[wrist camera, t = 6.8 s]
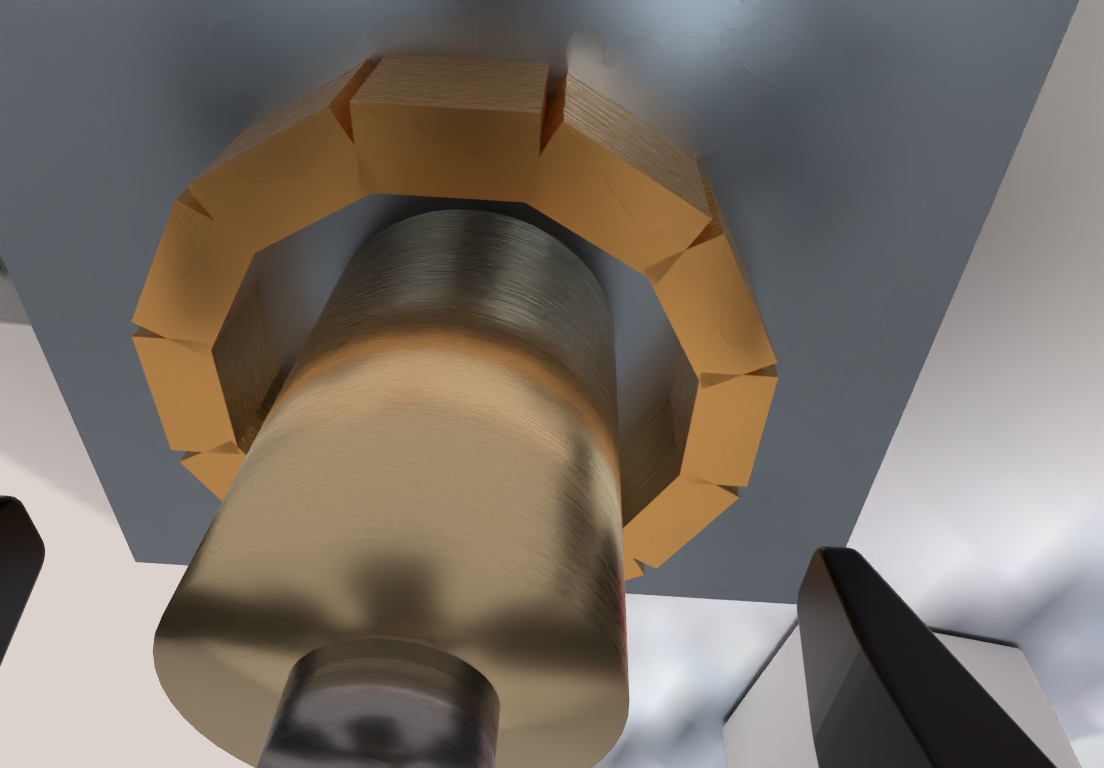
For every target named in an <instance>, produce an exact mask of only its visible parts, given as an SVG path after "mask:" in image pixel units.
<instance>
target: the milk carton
mask: <svg viewBox="0 0 1104 768" xmlns="http://www.w3.org/2000/svg"><path fill="white" fill-rule="evenodd" d="M933 633H934V632H933ZM934 634H935V635H936V636H937V637H938V639H939V640H940V641H941V642H942V643H943V644H944V645H945V646H946V647H947V648H948V649H949V651H950V652H951V653H952V654H953V655H954V656H955V657H956V658H957V659H958V660H959V661H960V662H961V664H962V665H963V666H964V667H965V668H966V669H967V670H968V671H969V672H970V673H971V674H972V675H973V677H974V678H975V679H976V680H977V681H978V682H979V683H980V684H981V685H982V686H983V687H984V689H985V690H986V691H987V692H988V693H989V694H990V695H991V696H992V697H993V698H994V699H995V700H996V702H997V703H998V704H999V705H1000V706H1001V707H1002V708H1003V709H1004V710H1005V711H1006V712H1007V713H1008V715H1009V716H1010V717H1011V718H1012V719H1013V720H1014V721H1015V722H1016V723H1017V724H1018V725H1019V726H1020V728H1021V729H1022V730H1023V731H1024V732H1025V733H1026V734H1027V735H1028V736H1029V737H1030V738H1031V740H1032V741H1033V742H1034V743H1035V744H1036V745H1037V746H1038V747H1039V748H1040V749H1041V750H1042V751H1043V753H1044V754H1045V755H1046V756H1047V757H1048V758H1049V759H1050V760H1051V761H1052V762H1053V763H1054V764H1055V766H1056V767H1057V768H1082V767H1081V765H1080V763H1079V761H1078V759H1077V757H1076V755H1075V753H1074V751H1073V749H1072V747H1071V745H1070V743H1069V741H1068V739H1067V737H1066V735H1065V733H1064V731H1063V729H1062V727H1061V725H1060V723H1059V721H1058V719H1057V717H1056V715H1055V713H1054V711H1053V709H1052V707H1051V705H1050V703H1049V701H1048V699H1047V697H1046V695H1045V693H1044V691H1043V689H1042V687H1041V685H1040V683H1039V681H1038V679H1037V677H1036V675H1035V673H1034V671H1033V669H1032V668H1031V666H1030V664H1029V662H1028V660H1027V658H1026V656H1025V654H1024V653H1023V652H1022V651H1021V650H1020V649H1017V648H1013V647H1008V646H1003V645H998V644H993V643H987V642H982V641H977V640H971V639H966V638H961V637H955V636H950V635H944V634H939V633H934ZM722 732H723V742H724V749H725V756H726V763H727V768H819V766H818V762H817V757H816V752H815V747H814V742H813V736H812V729H811V722H810V714H809V705H808V697H807V689H806V680H805V672H804V664H803V655H802V647H801V638H800V630H799V624H798V625H797V627H796V628H795V629H794V631H793V632H792V633H791V635H790V636H789V637H788V639H787V640H786V642H785V643H784V644H783V646H782V647H781V648H780V650H779V651H778V652H777V654H776V655H775V657H774V658H773V659H772V661H771V662H770V663H769V665H768V666H767V667H766V669H765V670H764V672H763V673H762V674H761V676H760V677H759V678H758V680H757V681H756V682H755V684H754V685H753V687H752V688H751V689H750V691H749V692H748V693H747V695H746V696H745V698H744V699H743V700H742V702H741V703H740V704H739V706H738V707H737V708H736V710H735V711H734V713H733V714H732V715H731V717H730V718H729V720H728V721H727V722H726V724H725V725H724V727H723V729H722Z"/></svg>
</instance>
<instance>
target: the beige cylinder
mask: <svg viewBox="0 0 1104 768" xmlns="http://www.w3.org/2000/svg"><path fill="white" fill-rule="evenodd" d="M153 656H154V664H155V669H156V673H157V675H158V678H159V681H160V683H161V686H162V688H163V689H164V691H165V693H166V695H167V696H168V698H169V699H170V701H171V703H172V704H173V705H174V706H175V708H176V709H177V710H178V711H179V712H180V714H181V715H182V716H183V717H184V718H185V719H186V720H187V721H188V722H189V723H190V724H191V725H192V726H193V727H194V728H195V729H196V730H197V731H199V732H200V733H201V734H202V735H204V736H205V737H206V738H207V739H209V740H210V741H211V742H213V743H214V744H215V745H217V746H218V747H220V748H221V749H223V750H225V751H226V752H228V753H230V754H231V755H233V756H234V757H236V758H238V759H239V760H241V761H243V762H246V763H247V764H249V765H251V766H253V767H255V768H592V767H593V766H594V765H596V764H597V763H598V762H599V761H601V760H602V759H603V758H604V757H605V756H606V755H607V754H608V752H609V751H610V750H611V749H612V748H613V747H614V746H615V744H616V742H617V741H618V739H619V737H620V736H621V734H622V732H623V730H624V727H625V724H626V721H627V718H628V709H629V681H628V656H627V631H626V606H625V581H624V555H623V530H622V505H621V480H620V455H619V429H618V404H617V379H616V354H615V333H614V324H613V317H612V314H611V310H610V307H609V303H608V301H607V299H606V296H605V294H604V292H603V290H602V287H601V286H600V284H599V283H598V281H597V280H596V278H595V276H594V275H593V273H592V272H591V271H590V270H589V268H588V267H587V266H586V265H585V264H584V262H583V261H582V260H581V259H580V258H579V257H578V256H577V255H576V254H575V253H574V252H572V251H571V250H570V249H569V248H568V247H567V246H566V245H564V244H563V243H562V242H560V241H559V240H557V239H556V238H554V237H553V236H551V235H550V234H548V233H546V232H544V231H543V230H541V229H539V228H537V227H535V226H533V225H531V224H528V223H526V222H523V221H520V220H518V219H515V218H513V217H509V216H505V215H501V214H497V213H493V212H486V211H478V210H443V211H435V212H429V213H425V214H421V215H417V216H413V217H410V218H407V219H405V220H402V221H400V222H398V223H395V224H393V225H391V226H389V227H388V228H386V229H384V230H383V231H381V232H379V233H377V234H376V235H375V236H374V237H372V238H371V239H370V240H369V241H367V242H366V243H365V244H364V245H363V246H362V247H361V248H360V249H359V250H358V251H357V252H356V253H355V254H354V256H353V257H352V258H351V260H350V261H349V263H348V264H347V266H346V267H345V269H344V270H343V272H342V274H341V276H340V278H339V280H338V282H337V284H336V285H335V287H334V289H333V291H332V293H331V295H330V297H329V299H328V301H327V303H326V304H325V306H324V308H323V310H322V312H321V314H320V316H319V318H318V320H317V322H316V324H315V325H314V327H313V329H312V331H311V333H310V335H309V337H308V339H307V341H306V343H305V345H304V346H303V348H302V350H301V352H300V354H299V356H298V358H297V360H296V362H295V364H294V366H293V367H292V369H291V371H290V373H289V375H288V377H287V379H286V381H285V383H284V385H283V387H282V388H281V390H280V392H279V394H278V396H277V398H276V400H275V402H274V404H273V406H272V408H271V409H270V411H269V413H268V415H267V417H266V419H265V421H264V423H263V425H262V427H261V429H260V430H259V432H258V434H257V436H256V438H255V440H254V442H253V444H252V446H251V448H250V449H249V451H248V453H247V455H246V457H245V459H244V461H243V463H242V465H241V467H240V469H239V470H238V472H237V474H236V476H235V478H234V480H233V482H232V484H231V486H230V488H229V490H228V491H227V493H226V495H225V497H224V499H223V501H222V503H221V505H220V507H219V509H218V511H217V512H216V514H215V516H214V518H213V520H212V522H211V524H210V526H209V528H208V530H207V532H206V533H205V535H204V537H203V539H202V541H201V543H200V545H199V547H198V549H197V551H196V553H195V554H194V556H193V558H192V560H191V562H190V564H189V566H188V568H187V570H186V572H185V574H184V576H183V577H182V579H181V581H180V583H179V585H178V587H177V589H176V591H175V593H174V595H173V596H172V598H171V600H170V602H169V604H168V606H167V608H166V610H165V612H164V614H163V616H162V618H161V620H160V623H159V625H158V628H157V630H156V633H155V638H154V646H153Z"/></svg>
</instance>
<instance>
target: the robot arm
mask: <svg viewBox="0 0 1104 768" xmlns="http://www.w3.org/2000/svg"><path fill="white" fill-rule="evenodd" d="M44 557H45V547H44V543H43V540H42V538H41V537H40V535H39V533H38V531H37V529H36V527H35V526H34V524H33V522H32V520H31V518H30V516H29V514H28V513H27V511H26V509H25V507H24V505H23V504H22V503H21V501H20V500H18V499H16V498H15V497H12V496H0V665H1V663H2V661H3V658H4V656H5V654H6V651H7V649H8V646H9V644H10V642H11V639H12V637H13V635H14V632H15V630H16V627H17V625H18V622H19V620H20V618H21V615H22V613H23V611H24V608H25V606H26V603H27V601H28V599H29V597H30V594H31V592H32V589H33V587H34V585H35V582H36V580H37V577H38V575H39V573H40V570H41V568H42V565H43V562H44ZM797 613H798V622H799V630H800V638H801V647H802V655H803V664H804V672H805V680H806V689H807V697H808V705H809V714H810V722H811V729H812V736H813V742H814V747H815V752H816V757H817V762H818V766H819V768H1057V767H1056V766H1055V764H1054V763H1053V762H1052V761H1051V760H1050V759H1049V758H1048V757H1047V756H1046V755H1045V754H1044V753H1043V751H1042V750H1041V749H1040V748H1039V747H1038V746H1037V745H1036V744H1035V743H1034V742H1033V741H1032V740H1031V738H1030V737H1029V736H1028V735H1027V734H1026V733H1025V732H1024V731H1023V730H1022V729H1021V728H1020V726H1019V725H1018V724H1017V723H1016V722H1015V721H1014V720H1013V719H1012V718H1011V717H1010V716H1009V715H1008V713H1007V712H1006V711H1005V710H1004V709H1003V708H1002V707H1001V706H1000V705H999V704H998V703H997V702H996V700H995V699H994V698H993V697H992V696H991V695H990V694H989V693H988V692H987V691H986V690H985V689H984V687H983V686H982V685H981V684H980V683H979V682H978V681H977V680H976V679H975V678H974V677H973V675H972V674H971V673H970V672H969V671H968V670H967V669H966V668H965V667H964V666H963V665H962V664H961V662H960V661H959V660H958V659H957V658H956V657H955V656H954V655H953V654H952V653H951V652H950V651H949V649H948V648H947V647H946V646H945V645H944V644H943V643H942V642H941V641H940V640H939V639H938V637H937V636H936V635H935V634H934V633H933V632H932V631H931V630H930V629H929V628H928V627H927V626H926V624H925V623H924V622H923V621H922V620H921V619H920V618H919V617H918V616H917V615H916V614H915V613H914V611H913V610H912V609H911V608H910V607H909V606H908V605H907V604H906V603H905V602H904V601H903V600H902V598H901V597H900V596H899V595H898V594H897V593H896V592H895V591H894V590H893V589H892V588H891V586H890V585H889V584H888V583H887V582H886V581H885V580H884V579H883V578H882V577H881V576H880V575H879V573H878V572H877V571H876V570H875V569H874V568H873V567H872V566H871V565H870V564H869V563H868V562H867V560H866V559H865V558H864V557H863V556H862V555H861V554H860V553H859V552H857V551H856V550H854V549H852V548H845V547H829V546H822V547H819V548H817V549H816V550H815V551H814V553H813V555H812V558H811V560H810V563H809V565H808V568H807V571H806V573H805V576H804V578H803V581H802V583H801V586H800V589H799V592H798V597H797Z"/></svg>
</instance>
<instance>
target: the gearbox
mask: <svg viewBox="0 0 1104 768" xmlns="http://www.w3.org/2000/svg"><path fill="white" fill-rule="evenodd" d="M1078 2H1079V0H0V324H14V325H30V326H32V327H33V330H34V332H35V334H36V336H37V339H38V341H39V343H40V346H41V348H42V350H43V352H44V355H45V357H46V359H47V361H48V364H49V366H50V368H51V371H52V373H53V375H54V377H55V380H56V382H57V384H58V386H59V389H60V391H61V393H62V396H63V398H64V400H65V402H66V405H67V407H68V409H69V411H70V414H71V416H72V418H73V421H74V423H75V425H76V427H77V430H78V432H79V434H80V436H81V439H82V441H83V443H84V446H85V448H86V450H87V452H88V455H89V457H90V459H91V461H92V464H93V466H94V468H95V471H96V473H97V475H98V477H99V480H100V482H101V484H102V487H103V489H104V491H105V493H106V496H107V498H108V500H109V502H110V505H111V507H112V509H113V512H114V514H115V516H116V518H117V521H118V523H119V525H120V527H121V530H122V532H123V534H124V537H125V539H126V541H127V543H128V546H129V548H130V550H131V552H132V555H133V557H134V559H135V561H136V562H145V563H161V564H176V565H189V564H190V562H191V560H192V558H193V556H194V554H195V553H196V551H197V549H198V547H199V545H200V543H201V541H202V539H203V537H204V535H205V533H206V532H207V530H208V528H209V526H210V524H211V522H212V520H213V518H214V516H215V514H216V512H217V511H218V509H219V507H220V505H221V503H222V501H223V499H224V497H225V495H226V493H227V491H228V490H229V488H230V486H231V484H232V482H233V480H234V478H235V476H236V474H237V472H238V470H239V469H240V467H241V465H242V463H243V461H244V459H245V457H246V455H247V453H248V451H249V449H250V448H251V446H252V444H253V442H254V440H255V438H256V436H257V434H258V432H259V430H260V429H261V427H262V425H263V423H264V421H265V419H266V417H267V415H268V413H269V411H270V409H271V408H272V406H273V404H274V402H275V400H276V398H277V396H278V394H279V392H280V390H281V388H282V387H283V385H284V383H285V381H286V379H287V377H288V375H289V373H290V371H291V369H292V367H293V366H294V364H295V362H296V360H297V358H298V356H299V354H300V352H301V350H302V348H303V346H304V345H305V343H306V341H307V339H308V337H309V335H310V333H311V331H312V329H313V327H314V325H315V324H316V322H317V320H318V318H319V316H320V314H321V312H322V310H323V308H324V306H325V304H326V303H327V301H328V299H329V297H330V295H331V293H332V291H333V289H334V287H335V285H336V284H337V282H338V280H339V278H340V276H341V274H342V272H343V270H344V269H345V267H346V266H347V264H348V263H349V261H350V260H351V258H352V257H353V256H354V254H355V253H356V252H357V251H358V250H359V249H360V248H361V247H362V246H363V245H364V244H365V243H366V242H367V241H369V240H370V239H371V238H372V237H374V236H375V235H376V234H377V233H379V232H381V231H383V230H384V229H386V228H388V227H389V226H391V225H393V224H395V223H398V222H400V221H402V220H405V219H407V218H410V217H413V216H417V215H421V214H425V213H429V212H435V211H443V210H478V211H486V212H493V213H497V214H501V215H505V216H509V217H513V218H515V219H518V220H520V221H523V222H526V223H528V224H531V225H533V226H535V227H537V228H539V229H541V230H543V231H544V232H546V233H548V234H550V235H551V236H553V237H554V238H556V239H557V240H559V241H560V242H562V243H563V244H564V245H566V246H567V247H568V248H569V249H570V250H571V251H572V252H574V253H575V254H576V255H577V256H578V257H579V258H580V259H581V260H582V261H583V262H584V264H585V265H586V266H587V267H588V268H589V270H590V271H591V272H592V273H593V275H594V276H595V278H596V280H597V281H598V283H599V284H600V286H601V287H602V290H603V292H604V294H605V296H606V299H607V301H608V303H609V307H610V310H611V314H612V317H613V324H614V333H615V354H616V379H617V404H618V429H619V455H620V480H621V505H622V530H623V555H624V581H625V593H628V594H644V595H660V596H675V597H691V598H706V599H722V600H738V601H753V602H769V603H784V604H797V597H798V592H799V589H800V586H801V583H802V581H803V578H804V576H805V573H806V571H807V568H808V565H809V563H810V560H811V558H812V555H813V553H814V551H815V550H816V549H817V548H819V547H822V546H829V547H846V545H847V543H848V540H849V538H850V536H851V533H852V531H853V529H854V526H855V524H856V522H857V519H858V517H859V515H860V512H861V510H862V507H863V505H864V503H865V500H866V498H867V496H868V493H869V491H870V489H871V486H872V484H873V482H874V479H875V477H876V475H877V472H878V470H879V468H880V465H881V463H882V461H883V458H884V456H885V454H886V451H887V449H888V447H889V444H890V442H891V440H892V437H893V435H894V433H895V430H896V428H897V426H898V423H899V421H900V418H901V416H902V414H903V411H904V409H905V407H906V404H907V402H908V400H909V397H910V395H911V393H912V390H913V388H914V386H915V383H916V381H917V379H918V376H919V374H920V372H921V369H922V367H923V365H924V362H925V360H926V358H927V355H928V353H929V351H930V348H931V346H932V344H933V341H934V339H935V337H936V334H937V332H938V329H939V327H940V325H941V322H942V320H943V318H944V315H945V313H946V311H947V308H948V306H949V304H950V301H951V299H952V297H953V294H954V292H955V290H956V287H957V285H958V283H959V280H960V278H961V276H962V273H963V271H964V269H965V266H966V264H967V262H968V259H969V257H970V255H971V252H972V250H973V247H974V245H975V243H976V240H977V238H978V236H979V233H980V231H981V229H982V226H983V224H984V222H985V219H986V217H987V215H988V212H989V210H990V208H991V205H992V203H993V201H994V198H995V196H996V194H997V191H998V189H999V187H1000V184H1001V182H1002V180H1003V177H1004V175H1005V173H1006V170H1007V168H1008V166H1009V163H1010V161H1011V158H1012V156H1013V154H1014V151H1015V149H1016V147H1017V144H1018V142H1019V140H1020V137H1021V135H1022V133H1023V130H1024V128H1025V126H1026V123H1027V121H1028V119H1029V116H1030V114H1031V112H1032V109H1033V107H1034V105H1035V102H1036V100H1037V98H1038V95H1039V93H1040V91H1041V88H1042V86H1043V84H1044V81H1045V79H1046V77H1047V74H1048V72H1049V69H1050V67H1051V65H1052V62H1053V60H1054V58H1055V55H1056V53H1057V51H1058V48H1059V46H1060V44H1061V41H1062V39H1063V37H1064V34H1065V32H1066V30H1067V27H1068V25H1069V23H1070V20H1071V18H1072V16H1073V13H1074V11H1075V9H1076V6H1077V4H1078Z"/></svg>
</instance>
